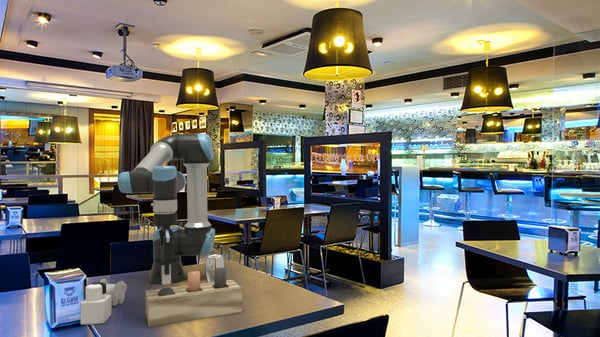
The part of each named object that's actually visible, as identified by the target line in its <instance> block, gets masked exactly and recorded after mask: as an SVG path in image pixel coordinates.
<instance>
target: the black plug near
mask: <svg viewBox="0 0 600 337" xmlns="http://www.w3.org/2000/svg"><path fill="white" fill-rule="evenodd" d="M172 288H173V287H163V288H159V289H160V296H167V295H173V289H172Z"/></svg>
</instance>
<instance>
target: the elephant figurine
mask: <svg viewBox="0 0 600 337" xmlns="http://www.w3.org/2000/svg"><path fill="white" fill-rule="evenodd" d="M99 282H103V283H105V284H106V295H111V307H115V306H117V305H121V304H123V303H124V300H125V296H126V295H125V294H126V292H127V288H128V286H127V284H126V283H125V282H124V281H123V280H119V281H118V282H117V283H115V284H114V283H108V281H107V279H105V278H102V279H100V280H99Z"/></svg>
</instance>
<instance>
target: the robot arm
mask: <svg viewBox="0 0 600 337" xmlns="http://www.w3.org/2000/svg"><path fill="white" fill-rule="evenodd" d="M214 155H215V154H214V146H213V141H212V138H211V136H210V135H209V134H207V133H198V132H197V133H174V134H169V135H167V136H166V135H165V136H164V137H162V138H160V139H158V140H157V141H155V142H154V143H153V144H152V146H150V149H149V152H148V153H147V154H146V156H145V157H144V158H143V159H142V160H141V161H140V162H139V163H138V164H137V165H136V166H135V167H134V169H133V170H131V171H122V172H121V173H119V175H118V177H117V178H118V179H117V186H118V190H119V192H120V193H123V194H147V193H149V194H150V193H152V201H153V202H152V203H151V204H150V206H151V207H152V211H153V213H154V214H153V217H152V220H153V225H154V226H157V227H160V228H158V229H156V230H154V232H153V237H152V250H153V251H152V253H153V254H152V256H153V261H152V262H153V264H152V266H151V270H150V274H149V276H148V277H149V279H148V280H149V281H148V282H149V283H152V284H154V285H155V284H159V285H163V286H164V285H171V284H173V283H178V282H182V281H183V280H185V279H186V272H185V270H184V267H183V263H182V260H181V259H182V257H183V256H199V257H201V256H208V255H211V253H212V252H213V249H214V247H215V246H214V245H215V240H216V229H215V228H213V227H212V224H211V223H210V221H209V220H208V219H209V218H208V179H207V178H208V177H207V175H208V173H207V168H208V166H210V165H211V161H212V160H214V159H215V158H214ZM170 161H182V165H183V166H185V168H186V176H185V175H184V174H183V173H182V172H181V171H178V170H177V167H176V166H175V165H165V164H167V163H169V162H170ZM185 187H186V189H187V190H186V192H187V193H186V194H187V195H186V198H187V202H186V203H187V222H186V224H185V225H183V226H184V228H182V227H181V226H180V225H177V224H178V213H177V211H178V198H177V196H178V192H181V191H182V190H184V188H185Z"/></svg>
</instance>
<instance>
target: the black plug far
mask: <svg viewBox="0 0 600 337" xmlns="http://www.w3.org/2000/svg"><path fill="white" fill-rule="evenodd" d="M226 281H227V269H226V267H224V268H222V267H221V268H215V269H214V289H218V288H225V287H226Z"/></svg>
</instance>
